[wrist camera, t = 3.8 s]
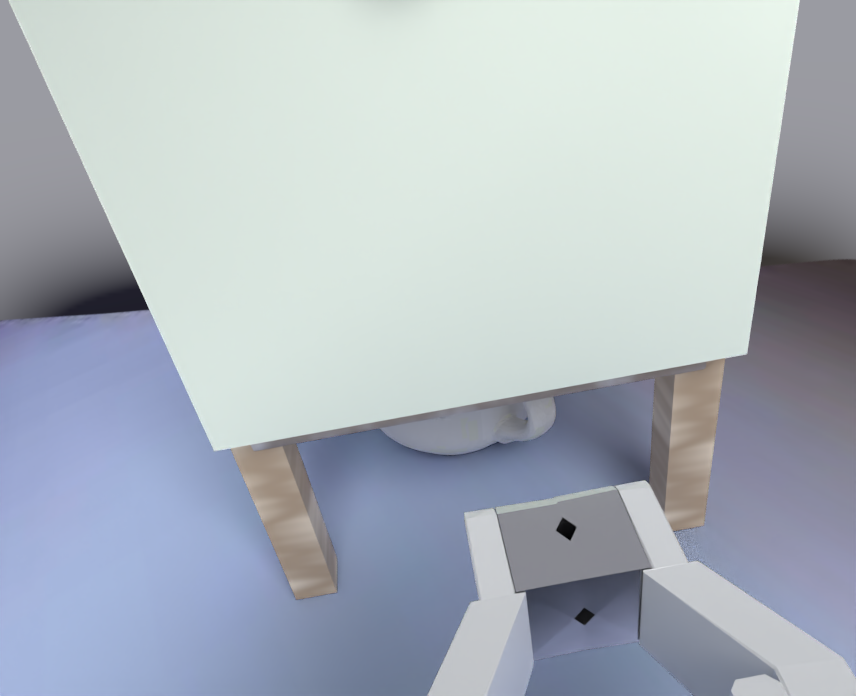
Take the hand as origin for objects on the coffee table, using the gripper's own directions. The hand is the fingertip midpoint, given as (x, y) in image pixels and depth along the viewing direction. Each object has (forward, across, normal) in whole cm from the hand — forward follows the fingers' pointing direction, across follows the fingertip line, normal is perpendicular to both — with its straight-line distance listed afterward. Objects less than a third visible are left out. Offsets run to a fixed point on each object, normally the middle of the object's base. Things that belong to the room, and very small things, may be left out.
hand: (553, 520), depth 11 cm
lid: (+14, 0, -2) cm, 14 cm away
